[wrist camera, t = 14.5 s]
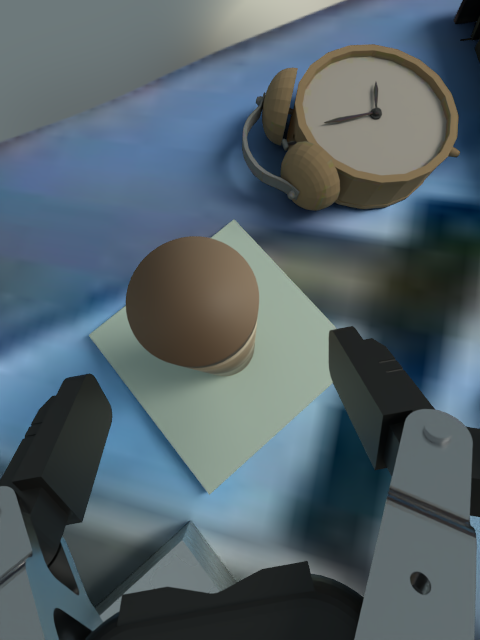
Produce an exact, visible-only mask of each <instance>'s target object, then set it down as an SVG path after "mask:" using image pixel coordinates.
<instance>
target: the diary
mask: <svg viewBox="0 0 480 640" xmlns="http://www.w3.org/2000/svg"><path fill="white" fill-rule="evenodd" d="M476 21H477V23H476V25H475V27H474V30H473V32H472V35H471V38H468V39H461V41H464V40H479V41H478V43H477V45H476V47H475V51H476V54H477V57H478V60H479V63H480V0H463V1H462V3H461V5H460V7H459V10H458V12H457V14H456V16H455V19H454V23H455V24H461V23H468V22H476Z"/></svg>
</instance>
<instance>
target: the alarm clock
mask: <svg viewBox="0 0 480 640" xmlns="http://www.w3.org/2000/svg"><path fill="white" fill-rule="evenodd" d="M297 69H298V68H287V69H284V70H282V71H280V72H279V73H278V74H277V75H276V76H275V77H274V78H273V80H272V81H271V83H270V85H269V87H268V89H267V92H266V95H265V92H264V94H263V97H261V96H260V97H257V99H256V104H257V105H258V107H257V108H256V109H255V110H254V111H253V112H252V113H251V114H250V116H249V117H248V119H247V120H246V122H245V125H244V128H243V140H242V150H243V156H244V159H245V161H246V163H247V166H248V167H249V169H250V170H251V172H252V173H253V174H254V175H255V176H256V177H257V178H258V179H259V180H261V181H262V182H264V183H266V184H267V185H270V186H272V187H275V188H277V189H279V190H281V191H283V192H285V193H287V195H288V198H289V199H291V200H292V201H293V202H294V203H295V204H297V205H298V206H300V207H302V208H304V209H306V210H314V211H317V210H321V209H324V208H326V207H328V206H330V205H332V204H333V203H334V202H335V203H337V204H340V205H345V206H349V207H354V208H359V209H370V208H382V207H387V206H390V205H392V204H394V203H397V202H399V201H402V200H404V199H406V198H407V197H408V196H409V195H410V194H411V193H413V192H414V191H415V190H416V189H417V188H418V187H419V186H420V185H421V184H422V183H423V182H424V180H425V179H426V178H427V177H428V176H429V175H430V174H431V172H432V171H433V170H434V169H435V168H436V167H437V166H438V165H439V164H440V163H442V162H443V161H444V160H445V159H446V158H447V157H448V156H451V157H458V155H459V154H460V151H458V150H457V149H455V148H454V147H453V145H454V143H455V141H456V138H457V133H458V112H457V109H456V106H455V103H454V99H453V96H452V94H451V92H450V91H449V90H448V88H447V87H446V85H445V84H444V82H443V81H442V80H441V78H440V77H439V75H438V74H436V73H435V72H434V71H433V70H431V69H430V68H429V67H428V66H427V65H425V64H424V63H423V62H422V61H421V60H419V59H417V58H415V57H413V56H410V55H408V54H406V53H404V52H402V51H400V50H398V49H393V48H388V47H383V46H379V45H374V44H372V45H350V46H347V47H344V48H340V49H337V50H334V51H331V52H328V53H327V54H325V55H324V56H323V57H321V58H320V59H319V60H317V61H316V62H314V63H313V64H312V65H310V67H309V68H308V70H307V71H306V73H305V74H304V76H303V77H302V79H301V81H300V82H299V85H298V90H297V95H296V100H295V104H294V109H291V108H289V107H290V102H291V97H292V93H293V88H294V83H295V79H296V74H297ZM261 112H262V123H263V128H264V132H265V134H266V136H267V137H268V139H269V140H270V141H272V142H273V143H275V144H277V145H280V146H281V143H282V144H283V147H284V150H288V151H287V153H286V155H285V157H284V159H283V161H282V164H281V177H278V176H275V175H273V174H271V173H269V172H268V171H266V170H265V169H263V168H262V167H261V166H260V165H259V164H258V163H257V162H256V160H255V159H254V157H253V156H252V154H251V152H250V150H249V148H248V142H247V135H248V132H249V131H250V129H251V127H252V126H253V125H254V124H255V123H256V122H257V120H258V119H259V118H260V115H261ZM288 114H291V115H292V116H291V119H290V124H289V129H288V134H287V140H286V139H283V134H284V130H285V125H286V120H287V116H288ZM282 139H283V140H282Z"/></svg>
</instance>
